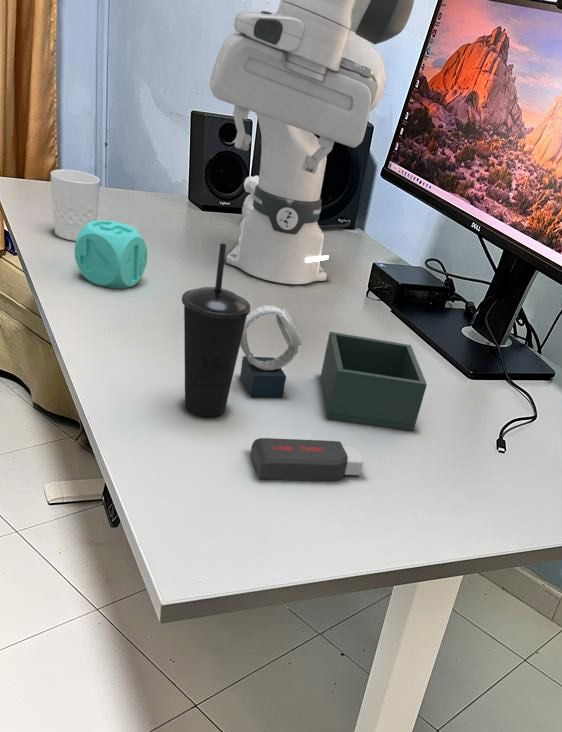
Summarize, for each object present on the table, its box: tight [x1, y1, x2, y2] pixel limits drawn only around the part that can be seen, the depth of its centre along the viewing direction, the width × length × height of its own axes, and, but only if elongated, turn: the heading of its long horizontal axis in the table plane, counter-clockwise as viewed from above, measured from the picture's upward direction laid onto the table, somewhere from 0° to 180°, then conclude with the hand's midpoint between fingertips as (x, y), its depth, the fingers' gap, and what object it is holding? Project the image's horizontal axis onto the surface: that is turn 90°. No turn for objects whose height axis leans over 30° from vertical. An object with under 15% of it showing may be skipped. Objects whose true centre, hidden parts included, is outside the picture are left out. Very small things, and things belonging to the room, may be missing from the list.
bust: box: [241, 175, 259, 219], centre depth 162 cm, size 12×8×11 cm
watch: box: [239, 304, 302, 399], centre depth 98 cm, size 6×8×11 cm
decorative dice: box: [74, 220, 148, 289], centre depth 119 cm, size 8×8×8 cm
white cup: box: [50, 169, 101, 242], centre depth 133 cm, size 8×8×10 cm
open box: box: [320, 331, 428, 432], centre depth 102 cm, size 13×12×7 cm
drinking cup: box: [181, 242, 252, 419], centre depth 88 cm, size 8×8×20 cm
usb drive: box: [250, 437, 364, 482], centre depth 86 cm, size 5×12×3 cm, turn 106°
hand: (275, 160), depth 99 cm, fingers open, 8 cm apart
